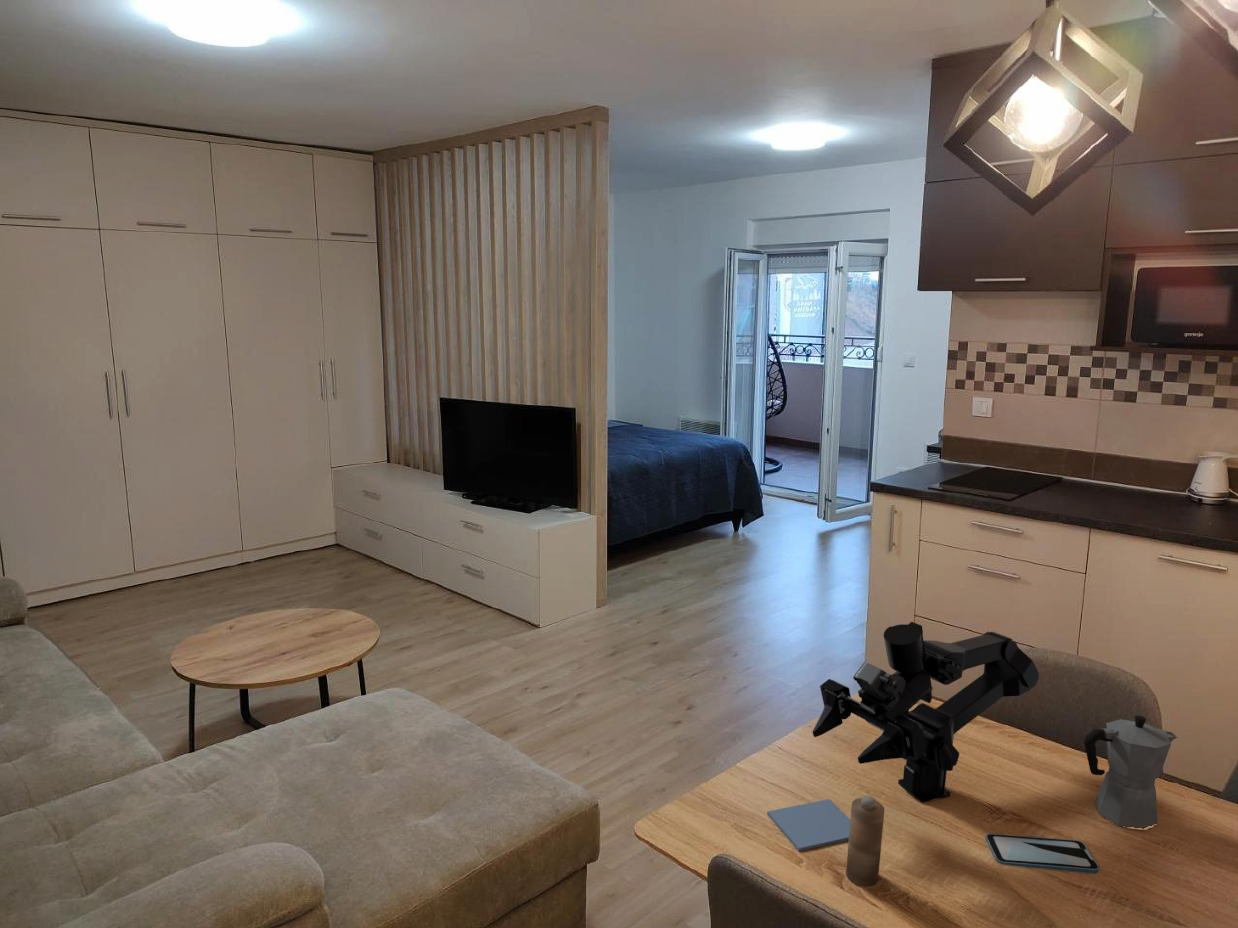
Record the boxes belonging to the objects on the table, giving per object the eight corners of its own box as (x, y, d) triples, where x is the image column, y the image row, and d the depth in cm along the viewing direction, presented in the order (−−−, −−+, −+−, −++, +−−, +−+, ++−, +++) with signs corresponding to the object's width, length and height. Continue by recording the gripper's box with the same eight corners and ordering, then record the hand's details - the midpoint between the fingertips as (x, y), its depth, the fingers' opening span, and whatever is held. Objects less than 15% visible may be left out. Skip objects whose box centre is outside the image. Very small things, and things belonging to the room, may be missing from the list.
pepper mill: (865, 863, 129) (872, 788, 127) (884, 883, 125) (891, 805, 123) (839, 869, 128) (846, 793, 125) (857, 889, 124) (864, 811, 121)
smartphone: (983, 832, 137) (1082, 839, 135) (983, 837, 137) (1081, 845, 135) (997, 862, 130) (1101, 870, 128) (996, 867, 130) (1101, 876, 128)
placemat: (829, 801, 145) (829, 798, 145) (864, 836, 136) (864, 833, 136) (767, 813, 141) (767, 811, 141) (798, 850, 132) (798, 848, 132)
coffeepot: (1145, 798, 148) (1160, 702, 145) (1182, 831, 139) (1199, 730, 135) (1059, 798, 148) (1072, 702, 144) (1090, 831, 138) (1105, 730, 135)
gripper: (847, 634, 144) (783, 683, 137) (942, 675, 129) (876, 733, 122) (857, 685, 149) (795, 736, 141) (950, 732, 133) (887, 791, 126)
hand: (835, 747), depth 133 cm, fingers open, 9 cm apart
